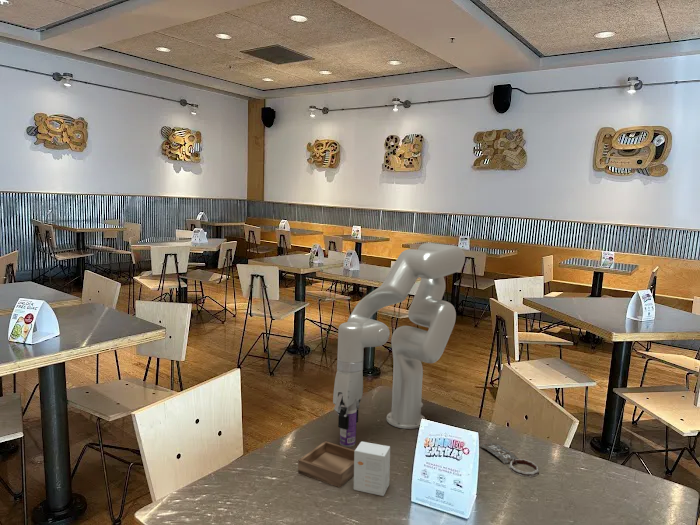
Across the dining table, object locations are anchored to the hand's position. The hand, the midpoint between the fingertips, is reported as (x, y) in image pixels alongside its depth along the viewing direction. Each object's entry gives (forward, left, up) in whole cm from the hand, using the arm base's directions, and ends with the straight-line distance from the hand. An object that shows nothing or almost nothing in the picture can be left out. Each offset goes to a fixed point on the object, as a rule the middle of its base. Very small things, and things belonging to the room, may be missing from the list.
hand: (348, 424), depth 153 cm
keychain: (-17, +43, -7) cm, 47 cm away
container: (0, 0, -6) cm, 6 cm away
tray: (+15, +4, -6) cm, 17 cm away
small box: (+17, +17, -6) cm, 25 cm away
